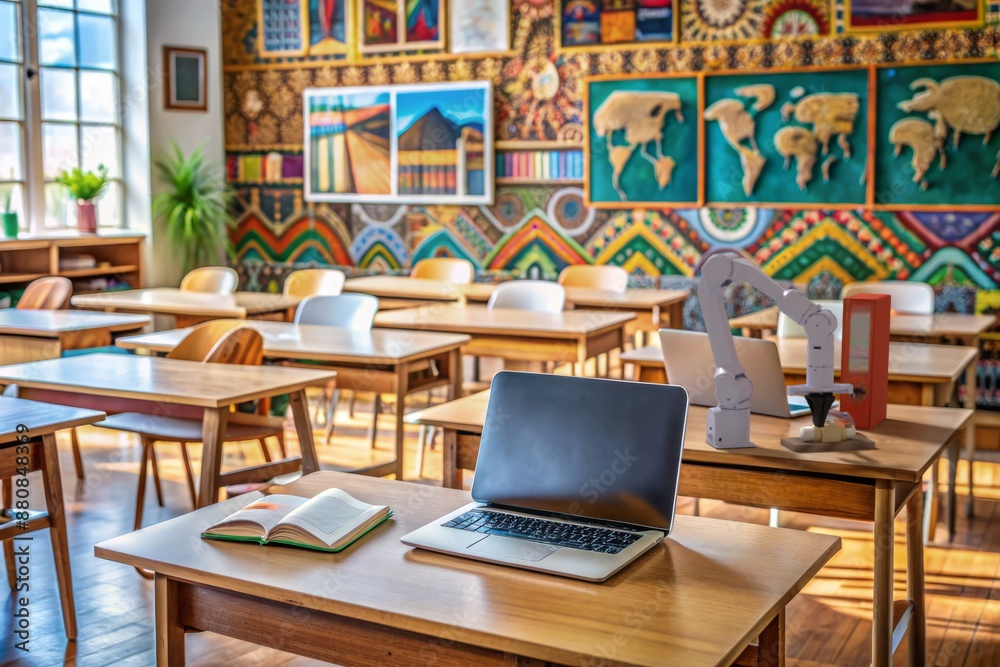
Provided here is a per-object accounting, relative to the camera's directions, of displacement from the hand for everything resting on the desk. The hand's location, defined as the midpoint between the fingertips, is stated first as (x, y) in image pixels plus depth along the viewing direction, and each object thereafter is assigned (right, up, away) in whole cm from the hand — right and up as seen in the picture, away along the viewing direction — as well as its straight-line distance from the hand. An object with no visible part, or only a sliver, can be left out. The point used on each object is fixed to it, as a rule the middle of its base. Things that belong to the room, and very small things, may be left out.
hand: (819, 426), depth 238 cm
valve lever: (+5, 0, +3) cm, 5 cm away
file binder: (+21, -2, +34) cm, 41 cm away
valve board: (+4, -5, +8) cm, 10 cm away
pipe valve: (+4, -5, +8) cm, 10 cm away
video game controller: (+10, -4, +23) cm, 26 cm away
